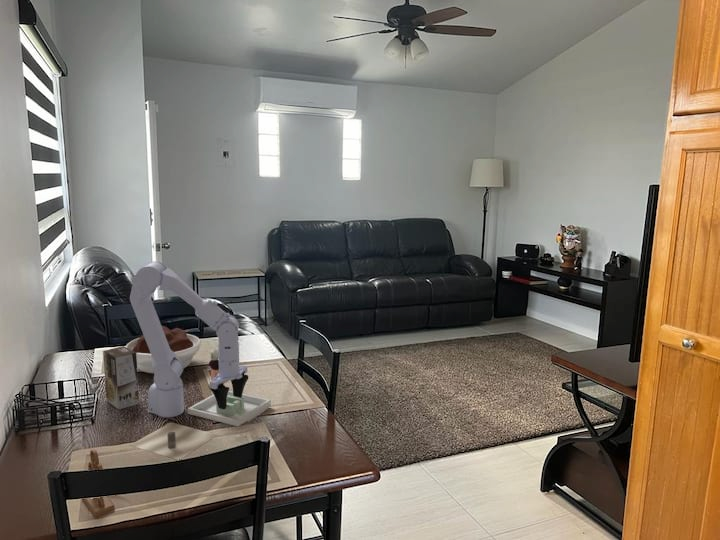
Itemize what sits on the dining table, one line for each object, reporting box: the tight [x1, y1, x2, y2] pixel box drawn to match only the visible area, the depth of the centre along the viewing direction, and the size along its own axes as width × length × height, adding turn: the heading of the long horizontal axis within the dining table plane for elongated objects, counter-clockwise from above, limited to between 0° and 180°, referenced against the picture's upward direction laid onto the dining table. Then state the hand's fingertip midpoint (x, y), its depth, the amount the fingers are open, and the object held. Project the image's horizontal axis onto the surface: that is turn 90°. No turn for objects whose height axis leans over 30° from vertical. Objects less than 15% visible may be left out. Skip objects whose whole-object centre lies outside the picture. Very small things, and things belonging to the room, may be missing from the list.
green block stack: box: [216, 395, 245, 417], centre depth 151 cm, size 7×6×3 cm
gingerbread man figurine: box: [82, 448, 116, 518], centre depth 108 cm, size 9×4×12 cm, turn 43°
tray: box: [187, 390, 272, 427], centre depth 152 cm, size 18×16×2 cm
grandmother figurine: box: [207, 349, 219, 388], centre depth 169 cm, size 8×4×13 cm, turn 68°
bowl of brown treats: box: [125, 325, 202, 375], centre depth 185 cm, size 25×25×15 cm
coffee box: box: [102, 345, 140, 410], centre depth 156 cm, size 9×6×16 cm
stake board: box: [129, 421, 218, 461], centre depth 133 cm, size 16×14×5 cm
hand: (230, 403), depth 152 cm, fingers open, 6 cm apart
